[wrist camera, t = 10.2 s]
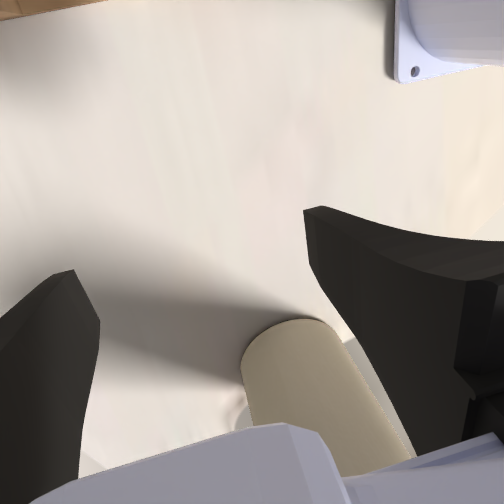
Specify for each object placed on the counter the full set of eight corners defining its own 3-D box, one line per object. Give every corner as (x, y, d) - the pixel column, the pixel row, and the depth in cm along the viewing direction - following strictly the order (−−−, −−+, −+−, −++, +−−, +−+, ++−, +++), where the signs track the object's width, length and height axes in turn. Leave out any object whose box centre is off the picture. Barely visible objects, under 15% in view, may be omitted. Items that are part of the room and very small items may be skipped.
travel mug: (258, 309, 26) (401, 702, 10) (355, 322, 28) (583, 653, 13) (227, 390, 29) (299, 780, 14) (316, 395, 32) (461, 728, 16)
